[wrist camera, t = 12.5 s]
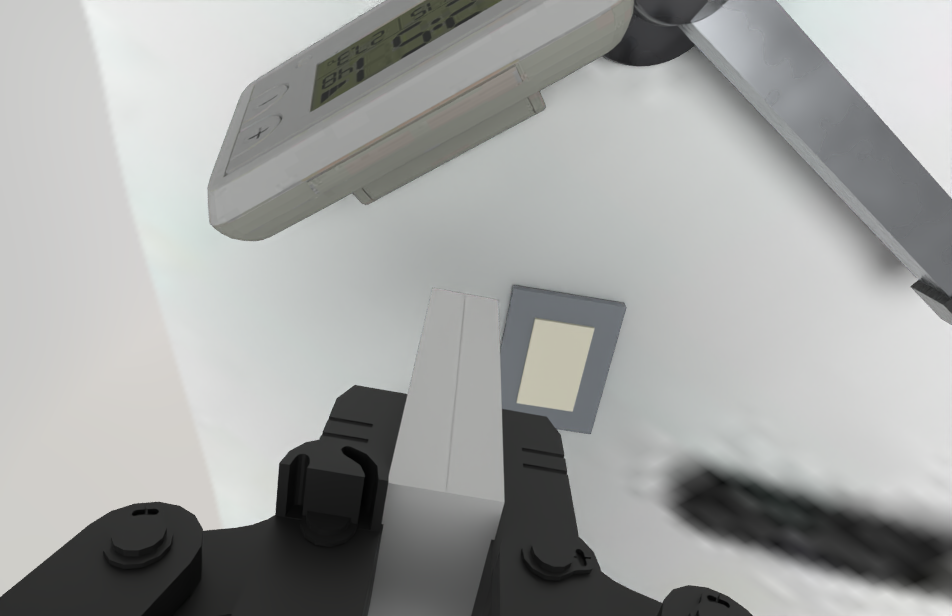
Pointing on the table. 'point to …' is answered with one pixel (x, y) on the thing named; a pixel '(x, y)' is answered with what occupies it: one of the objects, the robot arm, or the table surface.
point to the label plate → (558, 355)
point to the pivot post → (649, 44)
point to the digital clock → (395, 101)
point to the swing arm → (825, 128)
